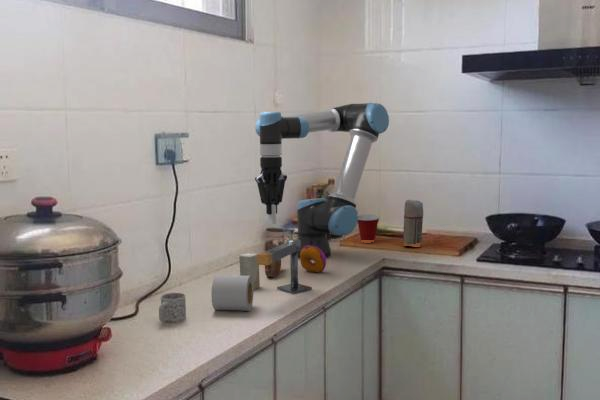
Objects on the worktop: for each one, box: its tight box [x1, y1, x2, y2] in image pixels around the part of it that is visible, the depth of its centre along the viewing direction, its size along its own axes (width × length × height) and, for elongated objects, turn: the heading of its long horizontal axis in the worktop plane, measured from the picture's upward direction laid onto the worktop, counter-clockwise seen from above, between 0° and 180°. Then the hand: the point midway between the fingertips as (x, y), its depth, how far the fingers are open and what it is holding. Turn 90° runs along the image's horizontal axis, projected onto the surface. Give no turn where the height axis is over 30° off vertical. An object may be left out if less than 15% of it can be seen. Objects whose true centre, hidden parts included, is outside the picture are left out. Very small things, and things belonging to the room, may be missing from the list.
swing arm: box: [256, 238, 301, 266], centre depth 196 cm, size 24×4×3 cm, turn 156°
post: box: [276, 251, 313, 295], centre depth 206 cm, size 8×8×12 cm
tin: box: [264, 258, 282, 278], centre depth 227 cm, size 15×3×8 cm, turn 168°
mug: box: [158, 292, 187, 324], centre depth 176 cm, size 10×7×7 cm, turn 159°
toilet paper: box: [210, 274, 255, 312], centre depth 186 cm, size 10×10×10 cm
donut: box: [299, 245, 327, 273], centre depth 229 cm, size 8×9×10 cm
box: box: [238, 252, 261, 290], centre depth 209 cm, size 5×4×11 cm
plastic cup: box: [357, 213, 381, 241], centre depth 283 cm, size 11×11×12 cm
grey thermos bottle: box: [402, 199, 424, 244], centre depth 273 cm, size 8×8×20 cm
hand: (272, 223), depth 225 cm, fingers closed
